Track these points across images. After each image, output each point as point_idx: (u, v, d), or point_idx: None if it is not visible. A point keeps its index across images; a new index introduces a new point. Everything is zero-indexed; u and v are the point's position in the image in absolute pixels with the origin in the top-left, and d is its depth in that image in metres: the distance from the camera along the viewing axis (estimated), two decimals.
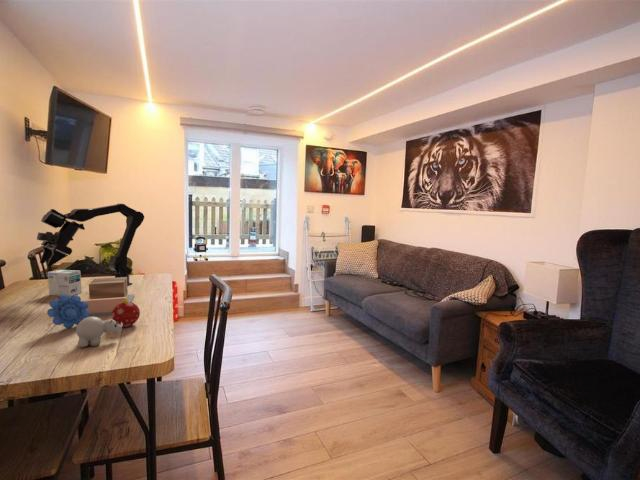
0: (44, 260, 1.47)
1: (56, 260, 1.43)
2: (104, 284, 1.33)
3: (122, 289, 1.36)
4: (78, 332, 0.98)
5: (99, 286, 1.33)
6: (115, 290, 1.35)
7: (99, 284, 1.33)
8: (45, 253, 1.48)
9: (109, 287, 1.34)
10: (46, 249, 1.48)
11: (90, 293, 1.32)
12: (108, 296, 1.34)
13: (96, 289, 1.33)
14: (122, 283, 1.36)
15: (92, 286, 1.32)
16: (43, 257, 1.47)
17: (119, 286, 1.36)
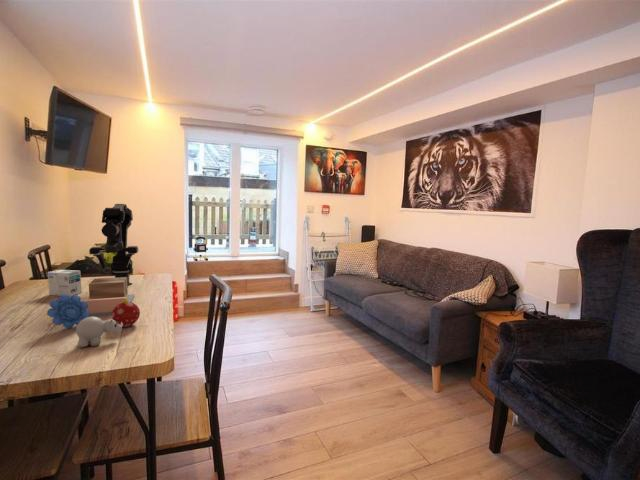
0: (104, 265, 1.53)
1: (129, 260, 1.57)
2: (104, 284, 1.33)
3: (122, 289, 1.36)
4: (78, 332, 0.98)
5: (99, 286, 1.33)
6: (115, 290, 1.35)
7: (99, 284, 1.33)
8: (102, 259, 1.52)
9: (109, 287, 1.34)
10: (101, 255, 1.51)
11: (90, 293, 1.32)
12: (108, 296, 1.34)
13: (96, 289, 1.33)
14: (122, 283, 1.36)
15: (92, 286, 1.32)
16: (103, 263, 1.52)
17: (119, 286, 1.36)
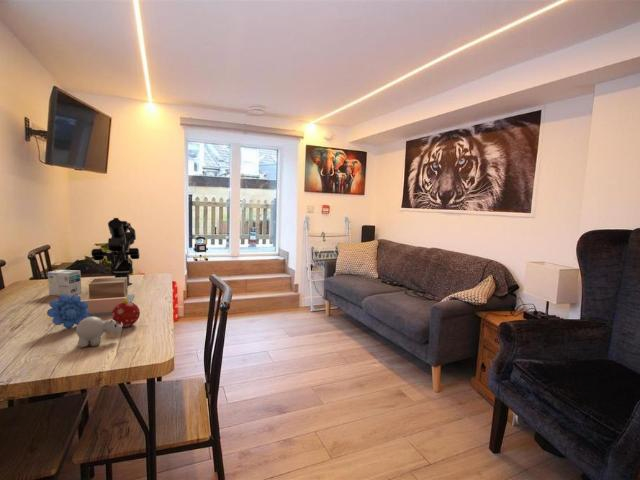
0: None
1: (118, 264, 1.54)
2: (104, 284, 1.33)
3: (122, 289, 1.36)
4: (78, 332, 0.98)
5: (99, 286, 1.33)
6: (115, 290, 1.35)
7: (99, 284, 1.33)
8: (114, 259, 1.53)
9: (109, 287, 1.34)
10: (113, 256, 1.53)
11: (90, 293, 1.32)
12: (108, 296, 1.34)
13: (96, 289, 1.33)
14: (122, 283, 1.36)
15: (92, 286, 1.32)
16: (114, 263, 1.52)
17: (119, 286, 1.36)
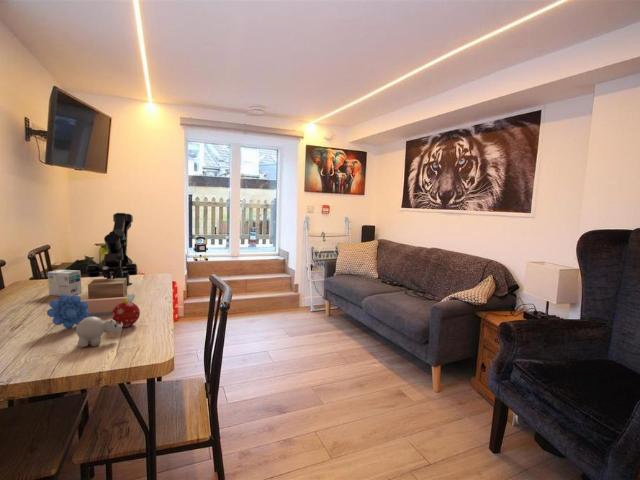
0: None
1: None
2: (103, 285, 1.32)
3: (121, 290, 1.35)
4: (78, 332, 0.98)
5: (98, 287, 1.31)
6: (114, 291, 1.34)
7: (98, 285, 1.31)
8: (110, 276, 1.44)
9: (108, 288, 1.33)
10: (110, 272, 1.45)
11: (89, 294, 1.31)
12: (107, 297, 1.33)
13: (95, 290, 1.31)
14: (121, 284, 1.34)
15: (91, 287, 1.31)
16: None
17: (118, 287, 1.34)
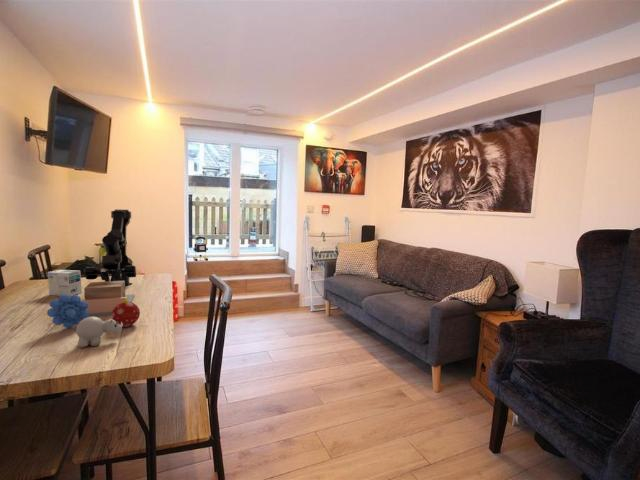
0: None
1: None
2: (100, 288, 1.27)
3: (119, 293, 1.30)
4: (78, 332, 0.98)
5: (95, 290, 1.26)
6: (112, 294, 1.29)
7: (95, 288, 1.26)
8: (108, 279, 1.40)
9: (105, 291, 1.28)
10: (108, 275, 1.41)
11: (86, 298, 1.26)
12: None
13: (92, 294, 1.26)
14: (119, 287, 1.30)
15: (88, 291, 1.26)
16: None
17: (116, 290, 1.29)
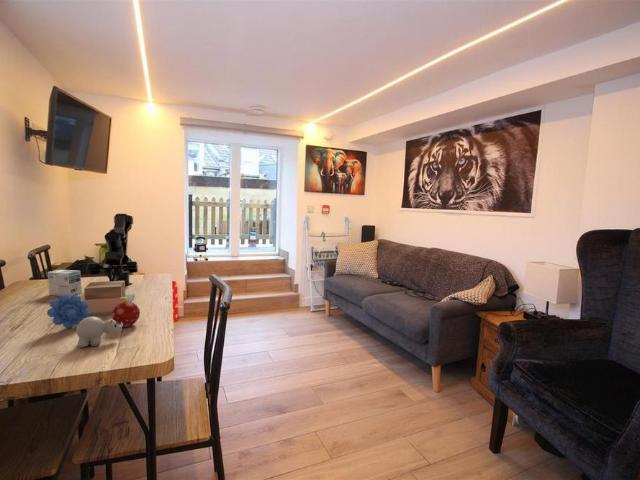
0: None
1: (116, 278, 1.47)
2: (100, 288, 1.27)
3: (119, 293, 1.30)
4: (78, 332, 0.98)
5: (95, 290, 1.26)
6: (112, 294, 1.29)
7: (95, 288, 1.26)
8: (111, 274, 1.45)
9: (105, 291, 1.28)
10: (110, 270, 1.46)
11: (86, 298, 1.26)
12: None
13: (92, 294, 1.26)
14: (119, 287, 1.30)
15: (88, 291, 1.26)
16: (111, 278, 1.45)
17: (116, 290, 1.29)
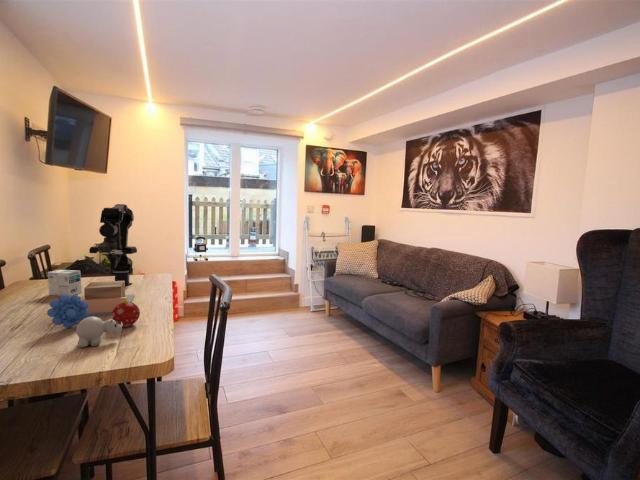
0: None
1: (118, 260, 1.56)
2: (100, 288, 1.27)
3: (119, 293, 1.30)
4: (78, 332, 0.98)
5: (95, 290, 1.26)
6: (112, 294, 1.29)
7: (95, 288, 1.26)
8: (112, 259, 1.54)
9: (105, 291, 1.28)
10: (110, 255, 1.53)
11: (86, 298, 1.26)
12: None
13: (92, 294, 1.26)
14: (119, 287, 1.30)
15: (88, 291, 1.26)
16: None
17: (116, 290, 1.29)
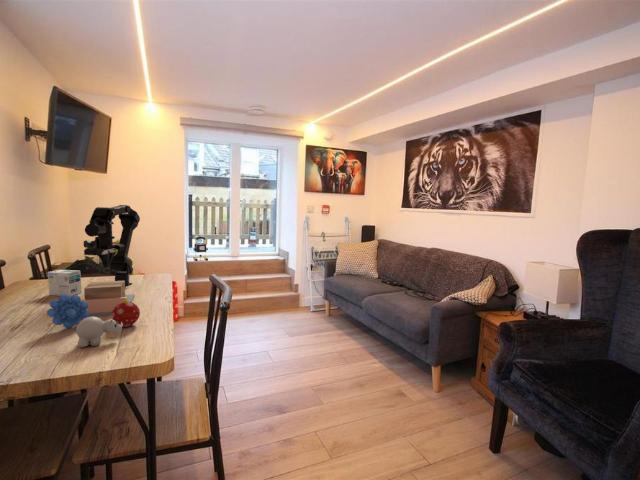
0: None
1: (105, 261, 1.54)
2: (100, 288, 1.27)
3: (119, 293, 1.30)
4: (78, 332, 0.98)
5: (95, 290, 1.26)
6: (112, 294, 1.29)
7: (95, 288, 1.26)
8: None
9: (105, 291, 1.28)
10: None
11: (86, 298, 1.26)
12: None
13: (92, 294, 1.26)
14: (119, 287, 1.30)
15: (88, 291, 1.26)
16: None
17: (116, 290, 1.29)
